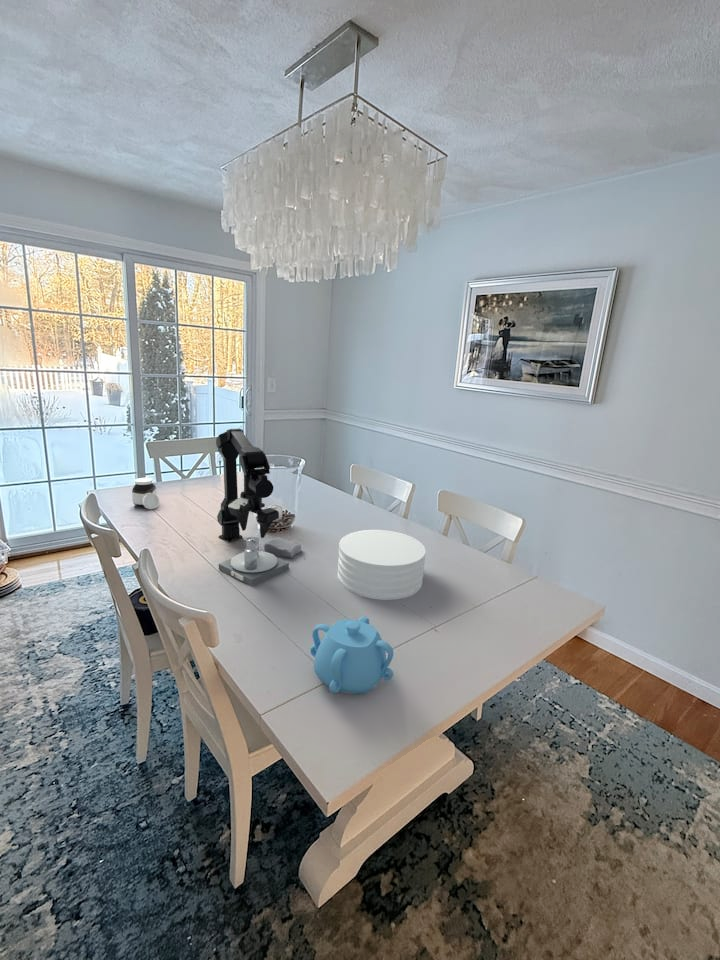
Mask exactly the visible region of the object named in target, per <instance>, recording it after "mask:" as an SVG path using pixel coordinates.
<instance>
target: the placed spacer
mask: <svg viewBox="0 0 720 960" xmlns="http://www.w3.org/2000/svg"><path fill="white" fill-rule="evenodd" d="M243 552H244V568H245V569H246V570H255V569H257V549H256V548H244V550H243Z"/></svg>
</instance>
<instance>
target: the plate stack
mask: <svg viewBox="0 0 720 960" xmlns="http://www.w3.org/2000/svg"><path fill="white" fill-rule="evenodd" d="M426 552H427V551H426V547H425V546H424V544H423V543H422V542H421V541H419V540H418V539H416V538H415V537H413V536H411V535H409V534H405V533H402V532H398V531H393V530H385V529H363V530H362V529H361V530H358V531H352V532H351V533H347V534H346V535H344V536H343V537H342V538H341V539H340V540H339V543H338V560H337V580H338V582H339V583H340V585H341V586H342V587H343V588H344V589H345V590H347V591H349V592H351V593H353V594H355V595H357V596H361V597H363V598H368V599H373V600H383V601H386V600H387V601H391V600H399V599H400V600H401V599H405V598H408V597H412V596H413V595H415V594H416V593H418V592H419V591H420V589H421V588H422V586H423V579H424V570H425V562H426Z"/></svg>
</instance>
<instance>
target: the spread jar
mask: <svg viewBox="0 0 720 960" xmlns="http://www.w3.org/2000/svg"><path fill="white" fill-rule="evenodd" d="M134 483H135V484H134V486H133V487H132V490H131V497H132V503H133V504H134V506H136V507H137V508H146V509H147V510H154V509H156V508H158V506H159V504H160V499H159V497H158V495H157V493H158V492H157V487H156V485H155V483H154V482H153V478H150V477H140V478H136V479H135V480H134Z"/></svg>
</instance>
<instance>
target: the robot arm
mask: <svg viewBox="0 0 720 960" xmlns="http://www.w3.org/2000/svg"><path fill="white" fill-rule="evenodd" d="M215 444H216V448H217V451H218V454H219V455H220V456H221V458H222V460H223V461H222V462H223V465H222V467H223V485H224V486H223V487H224V489H223V490H224V498H223V500H222V501H221V503H220V509H219V511H218V513H217V515H216V518H217V523H218V524H219V525H220V527H221V534H220V535H218V538H220V539H222V540H224V541H226V542H228V543H229V542H233V541H235V540H238V539H242V538H243V535H242V534H241V532H240V527H241V531H246V529H247V524H248V519H249V514H250V513H253V514H256V518H257V520H256V522H257V523H258V524H259V533H260V539H264V538H265V536H266V534H267V533H268V531H269V529H270V527H271V525H272V524H273V522H274V521H276V520H278V519H279V518H280V511H278V510H277V509H274V508H271V507H268V508H265V505H266V504H265V503H263V499H266V498H268V497H270V496H271V495H272V493H273V492H274V484H273V482H272V481H271V480H269V479H268V474H269V475H270V474H271V473H270V469H271V467H270V464H269V461H268V457H267V456H266V453H264V451H263V450H262V449H261V448H259V447H257V446H254V445H253V444H252V443H251V442H250V440H249V439H248V438H247V436H246V435H245V434H244V429H242V428H229V429H227V430H226V431H225V432H222V433H220V434H218V436H217V437H216V439H215ZM238 457H239V464H240V468H241V470H242V473H243V491H241V492H240V494H238V468H237V467H238V466H237V465H238V464H237V460H238ZM238 495H240V497H239V496H238ZM262 508H264V509H262Z"/></svg>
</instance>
